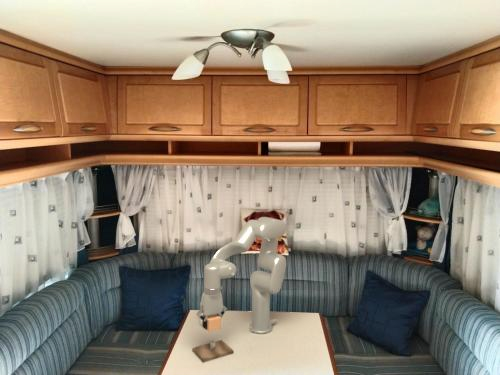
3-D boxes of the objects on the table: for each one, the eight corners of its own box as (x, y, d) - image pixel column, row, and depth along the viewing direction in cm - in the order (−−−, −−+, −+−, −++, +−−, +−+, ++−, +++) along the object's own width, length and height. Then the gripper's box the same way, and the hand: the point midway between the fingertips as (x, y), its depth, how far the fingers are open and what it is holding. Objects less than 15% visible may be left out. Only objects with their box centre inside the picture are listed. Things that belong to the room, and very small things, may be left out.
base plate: (221, 342, 223) (221, 333, 222) (233, 353, 213) (233, 343, 212) (192, 351, 215) (192, 341, 214) (203, 362, 204) (202, 352, 204)
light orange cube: (214, 323, 216) (214, 312, 215) (221, 328, 210) (221, 317, 210) (202, 326, 212) (202, 315, 212) (208, 331, 207) (208, 320, 206)
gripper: (224, 284, 217) (224, 320, 219) (191, 290, 208) (191, 327, 210) (232, 289, 210) (231, 325, 213) (198, 296, 201) (198, 333, 204)
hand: (211, 326), depth 211 cm, fingers closed on light orange cube, 6 cm apart
